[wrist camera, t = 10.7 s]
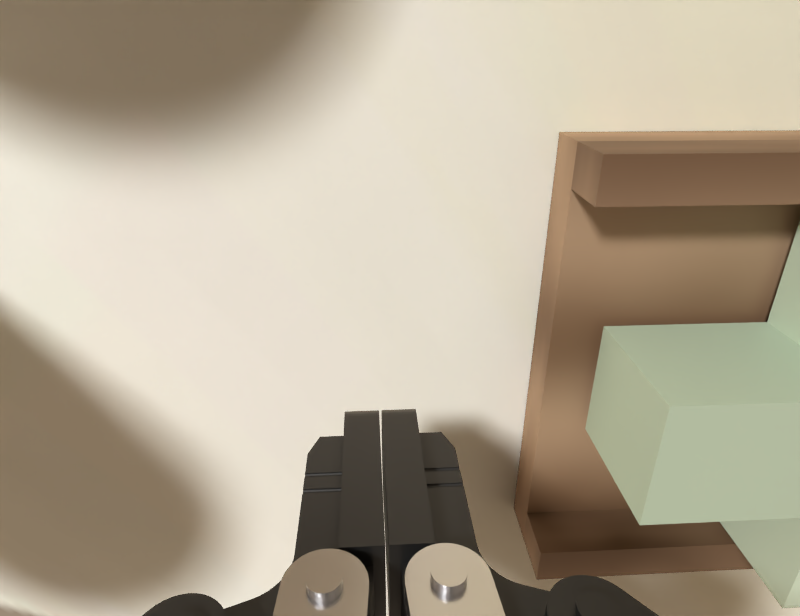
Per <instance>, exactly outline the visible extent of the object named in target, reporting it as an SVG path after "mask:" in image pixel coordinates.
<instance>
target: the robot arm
mask: <svg viewBox="0 0 800 616" xmlns="http://www.w3.org/2000/svg"><path fill="white" fill-rule="evenodd" d="M382 471H383V491H382ZM383 501H384V512H383ZM384 522H385V534H384ZM385 543H386V564H387V585H388V607H389V616H658V615H657V614H655V613H654V612H653V611H651V610H650V609H648V608H647V607H646V606H644V605H643V604H641V603H640V602H639V601H637V600H636V599H634V598H633V597H632V596H630V595H629V594H627V593H626V592H624V591H623V590H622V589H620V588H619V587H617V586H616V585H614V584H612V583H610V582H608V581H606V580H604V579H601V578H598V577H595V576H589V575H573V576H569V577H566V578H564V579H562V580H560V581H559V582H557V583H556V584H555V585H554V586H553V588H552V589H551V591H550V592H549V591H545V590H541V589H537V588H533V587H529V586H525V585H521V584H518V583H515V582H512V581H510V580H508V579H506V578H504V577H502V576H501V575H499V574H498V573H496V572H495V571H494V570H493V569H491V567H490V566H489V565H488V564H487V563H486V562H485V561H484V559H483V558H482V556H481V554H480V552H479V550H478V547H477V543H476V539H475V535H474V530H473V526H472V521H471V517H470V513H469V508H468V504H467V499H466V495H465V491H464V486H463V482H462V478H461V473H460V471H459V464H458V460H457V456H456V451H455V448H454V447H453V445H452V444H451V443H450V442H449V441H448V440H447V438H446V437H445V436H444V435H443V434H442V433H441V432H435V433H419V429H418V422H417V415H416V410H415V409H405V410H382V469H381V447H380V425H379V411H352V412H345V420H344V436H331V437H320V438H319V439H318V441H317V442H316V443H315V445H314V446H313V447H312V449H311V450H310V452H309V453H308V456H307V464H306V472H305V479H304V487H303V495H302V502H301V510H300V518H299V525H298V533H297V541H296V548H295V555H294V559H293V562H292V564H291V565H290V567H289V568H288V569H287V570H286V572H285V574H284V575H283V577H282V580H281V581H280V582H279V583H278V584H277V585H276V586H275V587H273V588H272V589H270V590H269V591H268V592H266V593H264V594H262V595H261V596H258V597H256V598H254V599H251V600H248V601H246V602H243V603H240V604H237V605H234V606H231V607H228V608H226V609H223V607H222V606H221V605H220V604H219V603H218V602H217V601H216V600H215V599H213V598H211V597H209V596H206V595H203V594H197V593H188V594H182V595H178V596H174V597H171V598H169V599H167V600H164V601H162V602H161V603H159V604H157V605H155V606H154V607H153V608H151V609H150V610H149V611H147V612H146V613H145V614H144V615H143V616H386V582H385Z"/></svg>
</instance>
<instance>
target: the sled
mask: <svg viewBox="0 0 800 616" xmlns="http://www.w3.org/2000/svg"><path fill="white" fill-rule="evenodd" d="M585 429H586V431H587V433H588V435H589V436H590V438H591V440H592V442H593V443H594V445H595V447H596V449H597V451H598V452H599V454H600V456H601V458H602V459H603V461H604V463H605V465H606V467H607V468H608V470H609V472H610V474H611V475H612V477H613V479H614V481H615V483H616V484H617V486H618V488H619V490H620V491H621V493H622V495H623V497H624V499H625V500H626V502H627V504H628V506H629V507H630V509H631V511H632V513H633V515H634V516H635V518H636V520H637V522H638V523H639V525H657V524H679V523H701V522H720V523H721V524H722V526H723V527H724V529H725V530H726V531H727V533H728V534H729V535H730V537H731V538H732V540H733V541H734V542H735V544H736V545H737V546H738V548H739V549H740V550H741V552H742V553H743V555H744V556H745V557H746V559H747V560H748V561H749V563H750V564H751V566H752V567H753V568H754V570H755V571H756V572H757V574H758V575H759V577H760V578H761V579H762V581H763V582H764V583H765V585H766V586H767V587H768V589H769V590H770V592H771V593H772V594H773V596H774V597H775V598H776V600H777V601H778V603H779V604H780V605H781V607H782V608H795V607H800V222H799V225H798V228H797V231H796V234H795V237H794V240H793V243H792V246H791V249H790V253H789V256H788V259H787V262H786V265H785V268H784V271H783V274H782V277H781V280H780V284H779V287H778V290H777V293H776V296H775V299H774V302H773V305H772V308H771V311H770V315H769V318H768V321H767V322H749V323H710V324H671V325H632V326H604V328H603V333H602V339H601V344H600V350H599V355H598V361H597V366H596V372H595V377H594V383H593V388H592V394H591V400H590V405H589V411H588V416H587V422H586V427H585Z"/></svg>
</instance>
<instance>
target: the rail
mask: <svg viewBox="0 0 800 616" xmlns="http://www.w3.org/2000/svg"><path fill="white" fill-rule="evenodd" d="M799 222H800V131H667V132H560V133H559V141H558V149H557V158H556V166H555V174H554V182H553V190H552V199H551V207H550V215H549V223H548V232H547V240H546V248H545V256H544V264H543V273H542V281H541V289H540V297H539V305H538V314H537V322H536V330H535V338H534V346H533V355H532V363H531V371H530V379H529V387H528V396H527V404H526V412H525V420H524V429H523V437H522V445H521V453H520V461H519V470H518V478H517V486H516V494H515V502H514V510H515V513H516V516H517V519H518V522H519V525H520V528H521V532H522V535H523V538H524V541H525V544H526V547H527V550H528V554H529V557H530V560H531V563H532V566H533V569H534V572H535V576H536V579H555V578H566V577H569V576H573V575H589V576H615V575H635V574H654V573H674V572H694V571H714V570H734V569H754V568H753V567H752V566H751V564H750V563H749V561H748V560H747V559H746V557H745V556H744V555H743V553H742V552H741V550H740V549H739V548H738V546H737V545H736V544H735V542H734V541H733V540H732V538H731V537H730V535H729V534H728V533H727V531H726V530H725V529H724V527H723V526H722V524H721V523H720V522H701V523H679V524H657V525H639V523H638V522H637V520H636V518H635V516H634V515H633V513H632V511H631V509H630V507H629V506H628V504H627V502H626V500H625V499H624V497H623V495H622V493H621V491H620V490H619V488H618V486H617V484H616V483H615V481H614V479H613V477H612V475H611V474H610V472H609V470H608V468H607V467H606V465H605V463H604V461H603V459H602V458H601V456H600V454H599V452H598V451H597V449H596V447H595V445H594V443H593V442H592V440H591V438H590V436H589V435H588V433H587V431H586V429H585V427H586V422H587V416H588V411H589V405H590V400H591V394H592V388H593V383H594V377H595V372H596V366H597V361H598V355H599V350H600V344H601V339H602V333H603V328H604V326H632V325H671V324H710V323H749V322H767V321H768V318H769V315H770V311H771V308H772V305H773V302H774V299H775V296H776V293H777V290H778V287H779V284H780V280H781V277H782V274H783V271H784V268H785V265H786V262H787V259H788V256H789V253H790V249H791V246H792V243H793V240H794V237H795V234H796V231H797V228H798V225H799Z"/></svg>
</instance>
